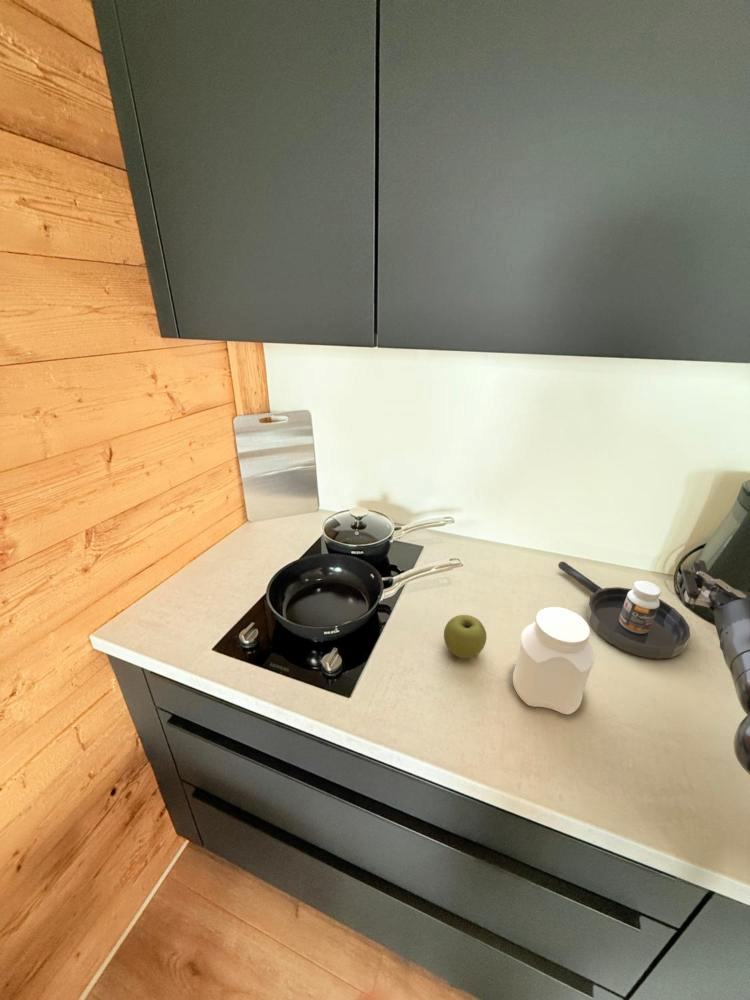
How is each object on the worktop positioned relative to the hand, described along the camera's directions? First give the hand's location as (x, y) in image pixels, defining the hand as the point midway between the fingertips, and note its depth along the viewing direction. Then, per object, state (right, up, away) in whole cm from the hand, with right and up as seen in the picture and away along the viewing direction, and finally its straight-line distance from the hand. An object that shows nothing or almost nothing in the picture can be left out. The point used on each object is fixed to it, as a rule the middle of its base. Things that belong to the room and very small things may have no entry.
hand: (733, 572), depth 63 cm
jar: (-23, -23, +13) cm, 35 cm away
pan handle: (-4, -9, +38) cm, 40 cm away
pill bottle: (+1, -16, +26) cm, 31 cm away
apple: (-36, -19, +21) cm, 46 cm away
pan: (+1, -16, +27) cm, 31 cm away
